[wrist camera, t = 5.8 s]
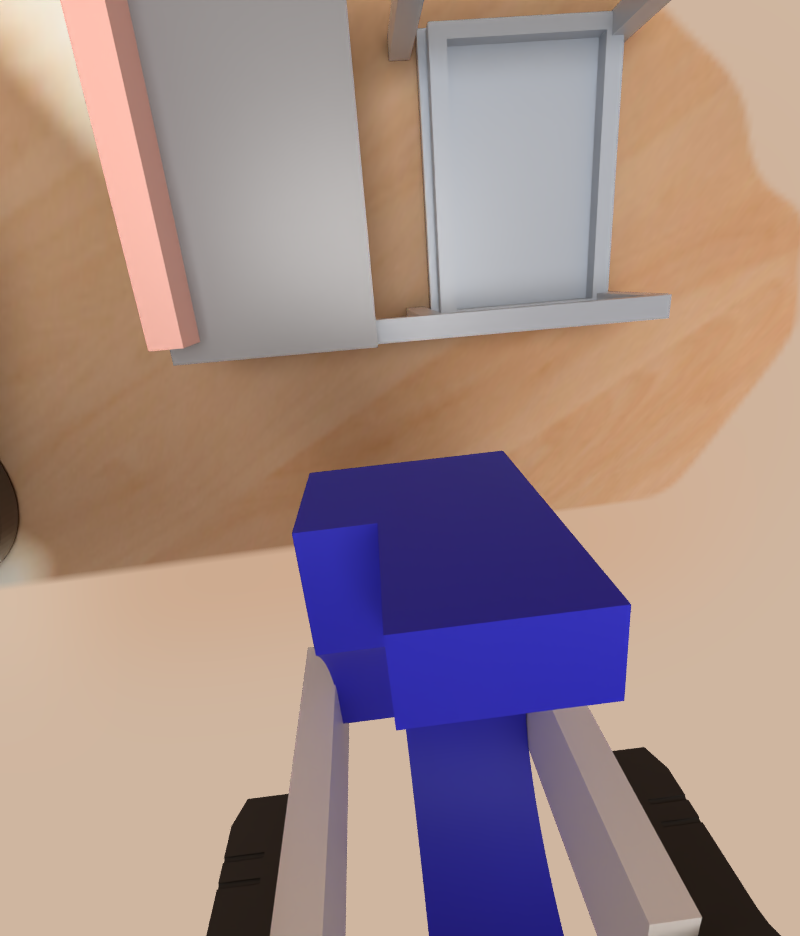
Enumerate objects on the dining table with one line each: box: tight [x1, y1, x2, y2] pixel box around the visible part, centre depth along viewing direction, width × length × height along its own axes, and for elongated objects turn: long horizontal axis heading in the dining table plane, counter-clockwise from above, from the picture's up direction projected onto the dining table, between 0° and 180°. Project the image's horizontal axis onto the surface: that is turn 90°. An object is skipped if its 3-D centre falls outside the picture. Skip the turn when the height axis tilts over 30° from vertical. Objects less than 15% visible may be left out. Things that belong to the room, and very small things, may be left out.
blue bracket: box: [292, 451, 631, 936], centre depth 11 cm, size 12×4×6 cm, turn 6°
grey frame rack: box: [376, 0, 671, 344], centre depth 27 cm, size 26×16×8 cm, turn 95°
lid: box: [60, 0, 378, 365], centre depth 21 cm, size 10×16×4 cm, turn 4°
